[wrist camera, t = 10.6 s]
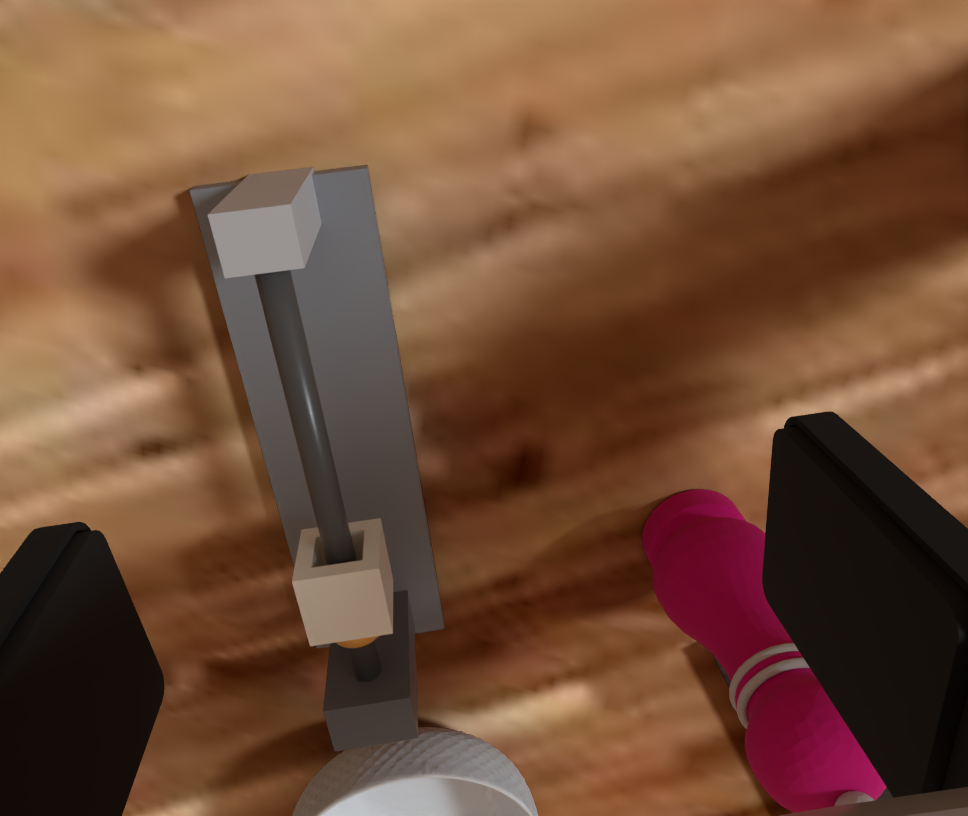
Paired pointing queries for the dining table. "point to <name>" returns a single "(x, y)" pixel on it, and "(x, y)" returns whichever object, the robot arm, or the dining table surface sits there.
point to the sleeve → (345, 587)
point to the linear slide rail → (329, 408)
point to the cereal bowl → (419, 780)
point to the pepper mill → (754, 653)
